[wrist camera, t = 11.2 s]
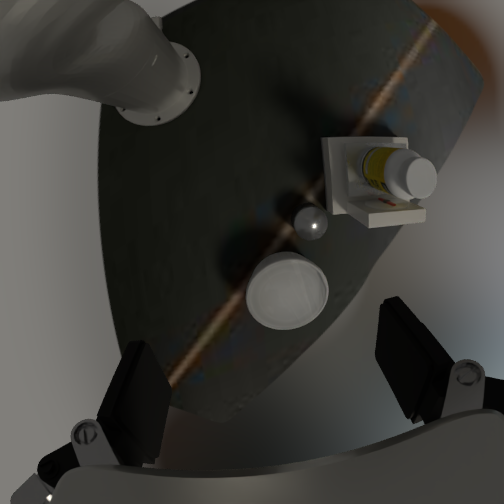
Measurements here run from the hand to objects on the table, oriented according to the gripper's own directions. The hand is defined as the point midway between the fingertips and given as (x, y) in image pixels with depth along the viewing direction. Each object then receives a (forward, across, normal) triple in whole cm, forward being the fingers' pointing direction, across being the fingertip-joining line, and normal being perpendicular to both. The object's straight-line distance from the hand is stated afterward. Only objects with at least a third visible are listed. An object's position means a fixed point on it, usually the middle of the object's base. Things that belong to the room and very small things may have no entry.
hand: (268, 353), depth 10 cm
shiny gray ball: (+29, -8, +4) cm, 30 cm away
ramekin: (+29, -3, +13) cm, 32 cm away
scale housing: (+29, -17, -2) cm, 33 cm away
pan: (+26, -17, -3) cm, 31 cm away
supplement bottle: (+24, -17, -3) cm, 29 cm away
